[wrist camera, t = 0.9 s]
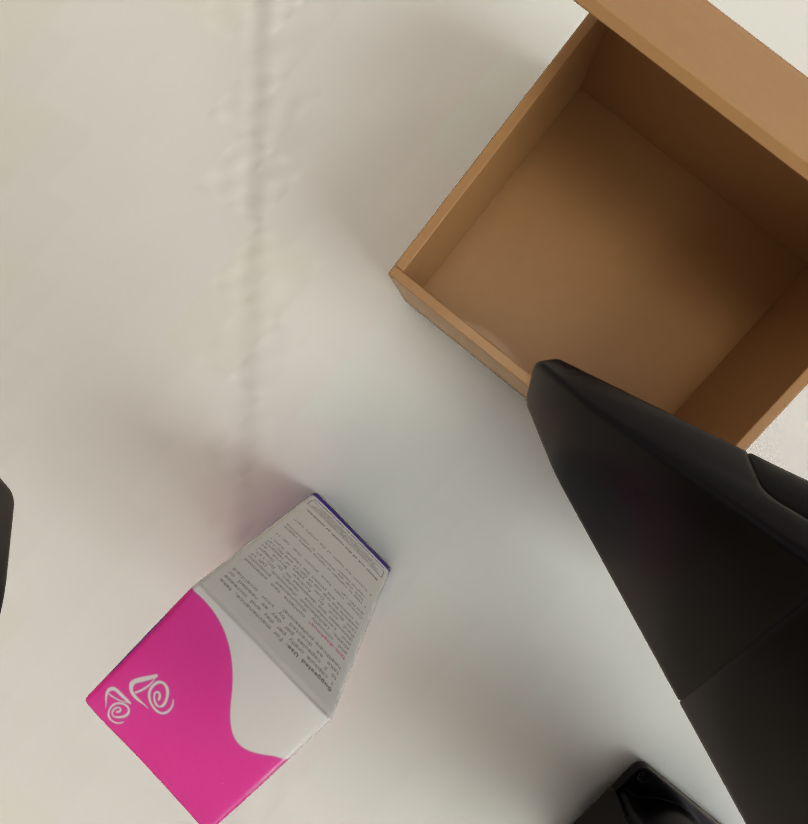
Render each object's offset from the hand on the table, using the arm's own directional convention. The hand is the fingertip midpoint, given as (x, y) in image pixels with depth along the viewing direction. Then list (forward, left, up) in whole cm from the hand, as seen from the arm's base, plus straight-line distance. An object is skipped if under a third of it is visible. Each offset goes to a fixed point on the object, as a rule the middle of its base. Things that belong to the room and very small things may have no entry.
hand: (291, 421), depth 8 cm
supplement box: (-2, +10, -17) cm, 19 cm away
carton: (-4, -10, -16) cm, 20 cm away
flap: (-4, -14, -8) cm, 16 cm away
